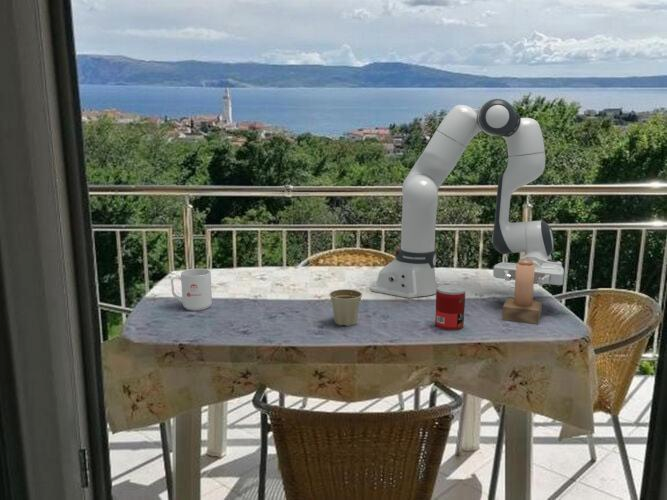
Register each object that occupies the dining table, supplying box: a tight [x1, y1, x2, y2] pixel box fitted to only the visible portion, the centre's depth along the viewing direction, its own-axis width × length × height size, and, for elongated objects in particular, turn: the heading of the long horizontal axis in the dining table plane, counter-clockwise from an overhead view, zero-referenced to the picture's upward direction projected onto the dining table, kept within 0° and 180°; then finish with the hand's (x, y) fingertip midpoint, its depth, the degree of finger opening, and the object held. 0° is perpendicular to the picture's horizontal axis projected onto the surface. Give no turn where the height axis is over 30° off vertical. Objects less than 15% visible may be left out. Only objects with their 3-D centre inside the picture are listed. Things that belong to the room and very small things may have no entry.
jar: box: [513, 258, 535, 306], centre depth 187 cm, size 5×5×13 cm
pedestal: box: [501, 296, 543, 325], centre depth 189 cm, size 10×10×4 cm
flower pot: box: [328, 288, 363, 327], centre depth 184 cm, size 9×9×9 cm
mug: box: [170, 268, 213, 312], centre depth 198 cm, size 12×9×11 cm
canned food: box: [434, 284, 466, 331], centre depth 181 cm, size 8×8×11 cm
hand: (524, 279), depth 186 cm, fingers open, 8 cm apart
